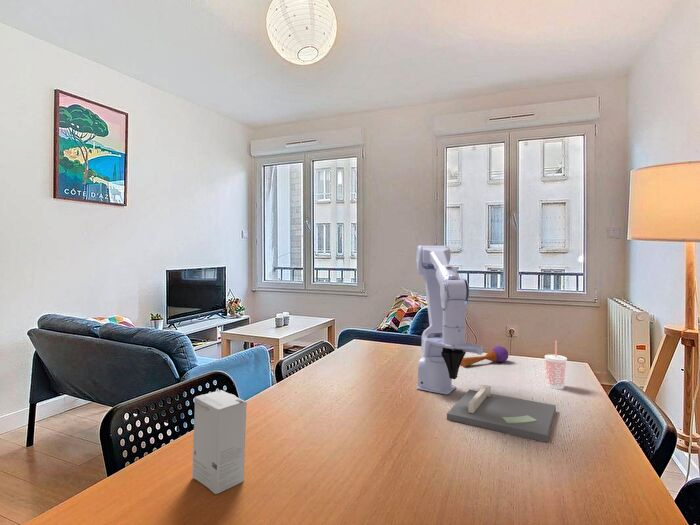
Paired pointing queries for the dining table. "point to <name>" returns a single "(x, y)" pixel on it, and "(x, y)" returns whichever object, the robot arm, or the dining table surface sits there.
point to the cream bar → (479, 397)
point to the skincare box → (219, 440)
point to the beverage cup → (555, 370)
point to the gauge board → (506, 415)
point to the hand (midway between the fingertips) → (453, 377)
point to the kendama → (488, 356)
